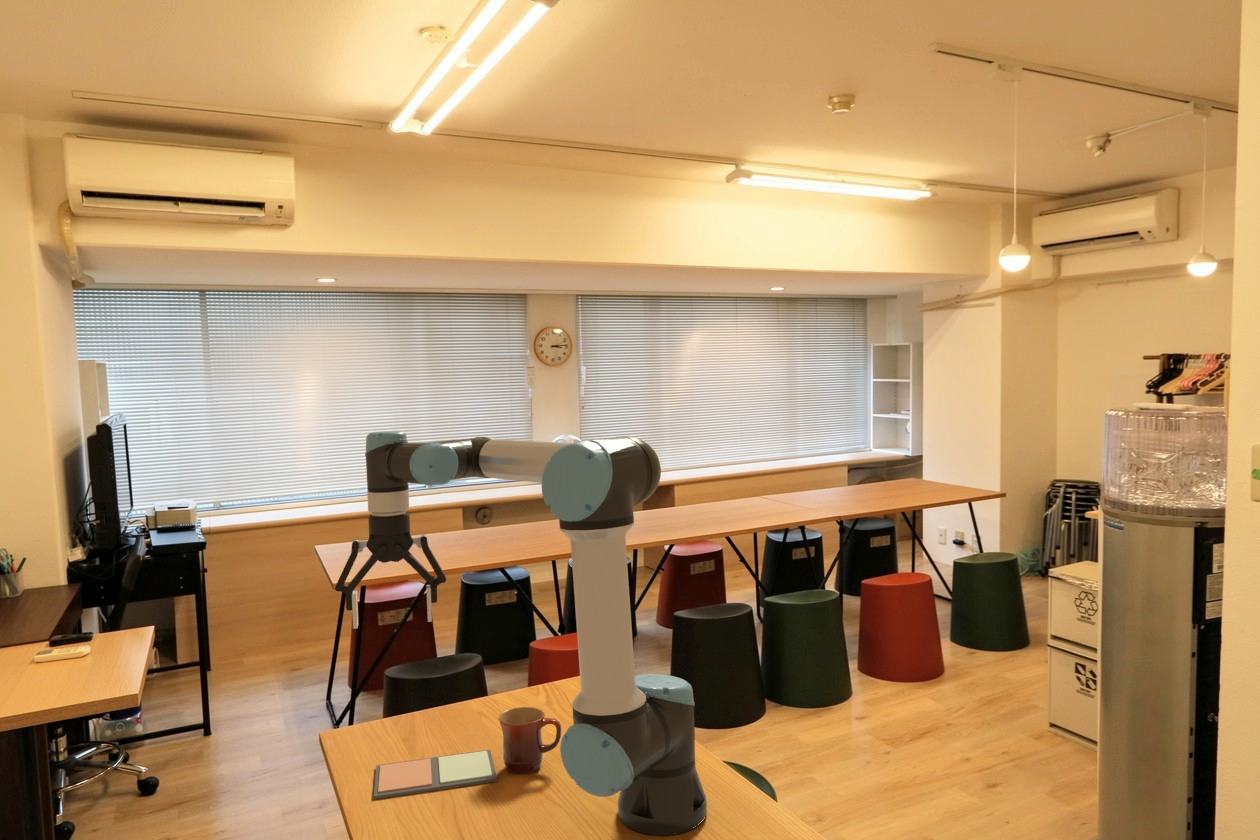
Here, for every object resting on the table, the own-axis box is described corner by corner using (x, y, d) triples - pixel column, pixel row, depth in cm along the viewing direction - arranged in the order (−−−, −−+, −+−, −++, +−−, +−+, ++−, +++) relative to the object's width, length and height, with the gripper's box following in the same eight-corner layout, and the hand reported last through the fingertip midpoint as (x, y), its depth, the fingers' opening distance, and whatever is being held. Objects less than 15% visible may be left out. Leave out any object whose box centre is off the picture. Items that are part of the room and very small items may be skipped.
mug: (495, 778, 158) (493, 724, 158) (506, 757, 167) (504, 706, 166) (558, 779, 157) (556, 725, 156) (566, 758, 166) (564, 707, 165)
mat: (496, 781, 157) (496, 776, 157) (373, 799, 151) (373, 794, 151) (490, 752, 169) (490, 748, 169) (376, 768, 164) (376, 763, 164)
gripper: (455, 506, 166) (458, 612, 167) (321, 513, 160) (326, 624, 161) (456, 511, 159) (460, 622, 160) (317, 519, 153) (321, 635, 154)
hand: (393, 623), depth 160 cm, fingers open, 13 cm apart
